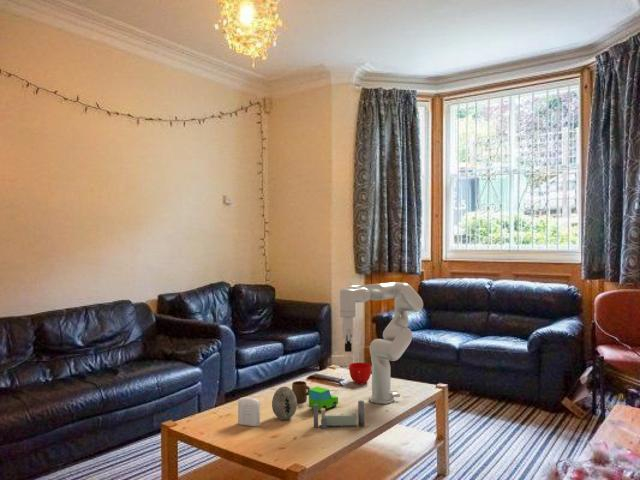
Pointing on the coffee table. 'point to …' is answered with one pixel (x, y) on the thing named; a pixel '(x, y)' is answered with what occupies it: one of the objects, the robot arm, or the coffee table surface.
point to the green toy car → (322, 398)
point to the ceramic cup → (360, 372)
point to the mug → (300, 391)
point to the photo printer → (249, 411)
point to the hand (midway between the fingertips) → (348, 351)
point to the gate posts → (324, 425)
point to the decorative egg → (284, 403)
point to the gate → (339, 418)
